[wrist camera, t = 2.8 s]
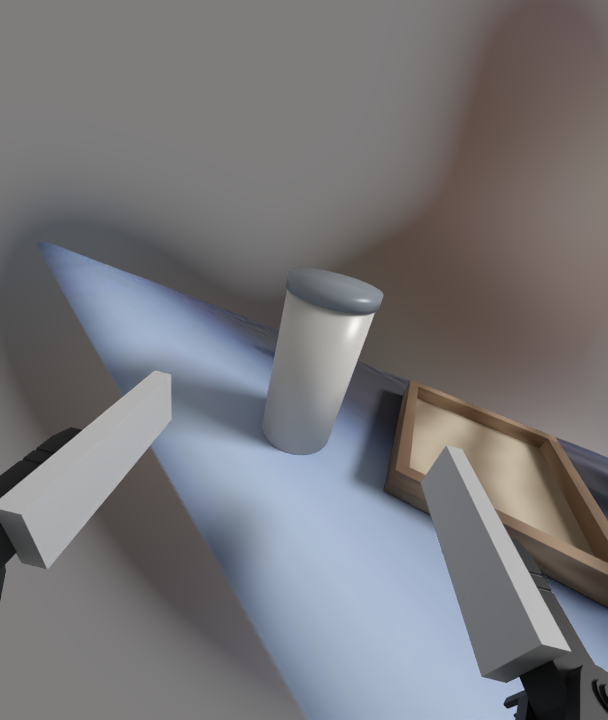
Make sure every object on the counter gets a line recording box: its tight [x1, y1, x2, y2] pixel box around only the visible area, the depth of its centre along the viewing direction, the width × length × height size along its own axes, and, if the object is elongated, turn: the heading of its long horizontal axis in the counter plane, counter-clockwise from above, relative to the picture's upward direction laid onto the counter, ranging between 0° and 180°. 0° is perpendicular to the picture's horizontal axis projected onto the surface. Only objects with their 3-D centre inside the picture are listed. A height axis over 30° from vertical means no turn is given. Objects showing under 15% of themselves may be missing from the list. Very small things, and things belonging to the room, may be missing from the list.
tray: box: [384, 380, 608, 607], centre depth 26 cm, size 16×16×2 cm
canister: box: [262, 268, 383, 455], centre depth 22 cm, size 7×7×14 cm
